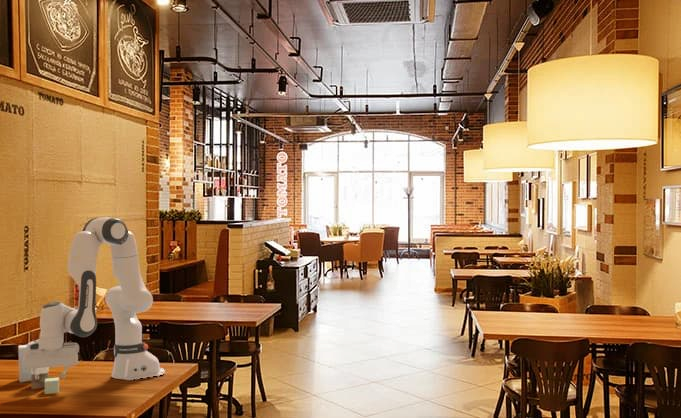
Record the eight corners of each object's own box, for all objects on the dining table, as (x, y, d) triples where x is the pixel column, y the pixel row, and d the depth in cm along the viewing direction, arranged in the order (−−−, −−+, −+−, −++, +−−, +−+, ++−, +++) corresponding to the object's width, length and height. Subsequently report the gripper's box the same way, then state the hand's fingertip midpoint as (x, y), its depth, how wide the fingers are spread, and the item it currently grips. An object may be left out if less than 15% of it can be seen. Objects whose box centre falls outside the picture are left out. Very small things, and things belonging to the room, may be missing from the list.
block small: (59, 389, 261) (59, 377, 261) (58, 393, 256) (58, 380, 256) (45, 390, 259) (45, 378, 259) (44, 394, 254) (44, 381, 254)
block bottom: (48, 384, 269) (48, 369, 269) (47, 387, 263) (47, 373, 263) (32, 385, 267) (32, 370, 267) (31, 389, 261) (31, 374, 261)
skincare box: (39, 377, 280) (39, 342, 280) (40, 380, 275) (40, 345, 275) (17, 379, 276) (18, 344, 276) (18, 382, 271) (18, 347, 271)
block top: (48, 369, 269) (48, 355, 269) (47, 373, 263) (47, 358, 263) (32, 370, 267) (32, 356, 267) (31, 374, 261) (31, 359, 261)
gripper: (79, 340, 264) (78, 374, 264) (24, 343, 256) (23, 378, 256) (79, 343, 258) (78, 378, 258) (22, 346, 250) (21, 381, 250)
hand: (50, 378), depth 257 cm, fingers open, 8 cm apart
